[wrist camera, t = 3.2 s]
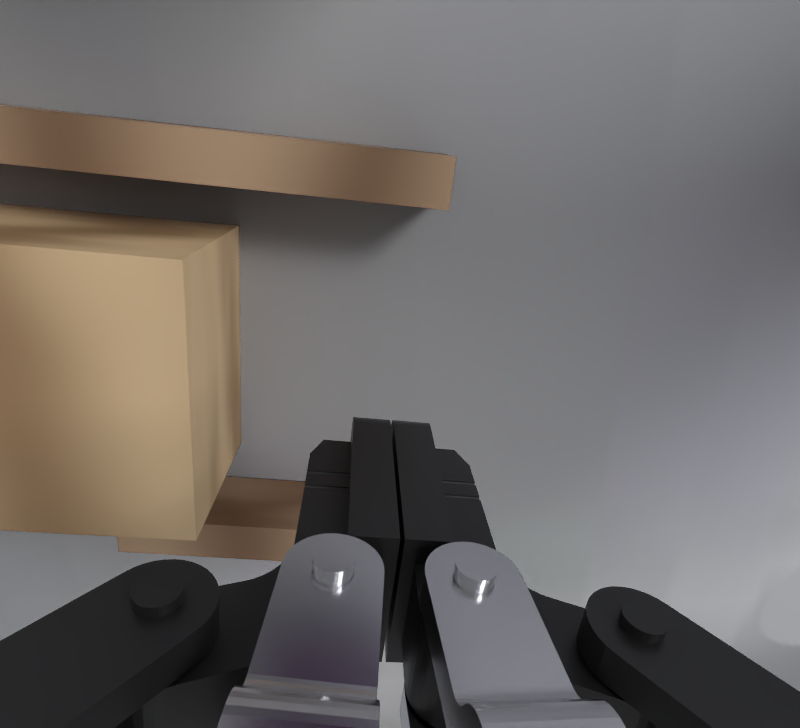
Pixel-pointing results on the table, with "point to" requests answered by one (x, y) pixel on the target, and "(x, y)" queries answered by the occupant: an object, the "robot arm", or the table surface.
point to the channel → (236, 168)
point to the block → (116, 371)
